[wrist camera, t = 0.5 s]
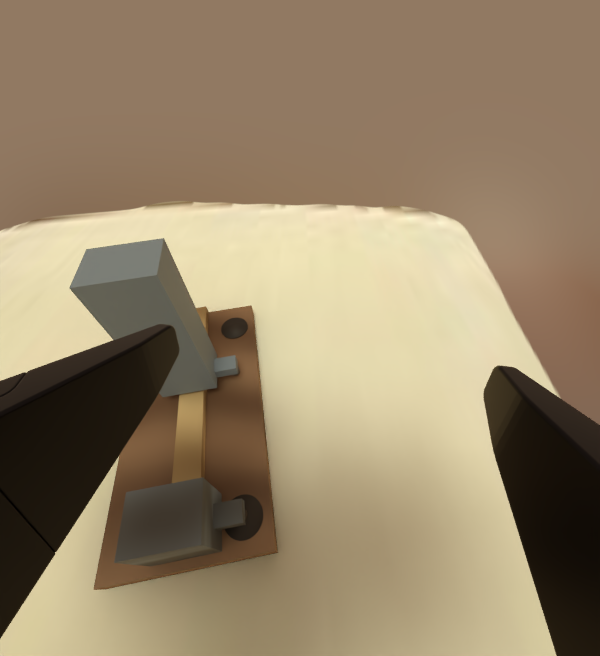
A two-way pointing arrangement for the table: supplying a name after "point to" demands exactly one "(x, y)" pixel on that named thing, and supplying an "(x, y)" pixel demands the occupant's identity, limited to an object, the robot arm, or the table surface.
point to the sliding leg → (150, 308)
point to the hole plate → (195, 473)
